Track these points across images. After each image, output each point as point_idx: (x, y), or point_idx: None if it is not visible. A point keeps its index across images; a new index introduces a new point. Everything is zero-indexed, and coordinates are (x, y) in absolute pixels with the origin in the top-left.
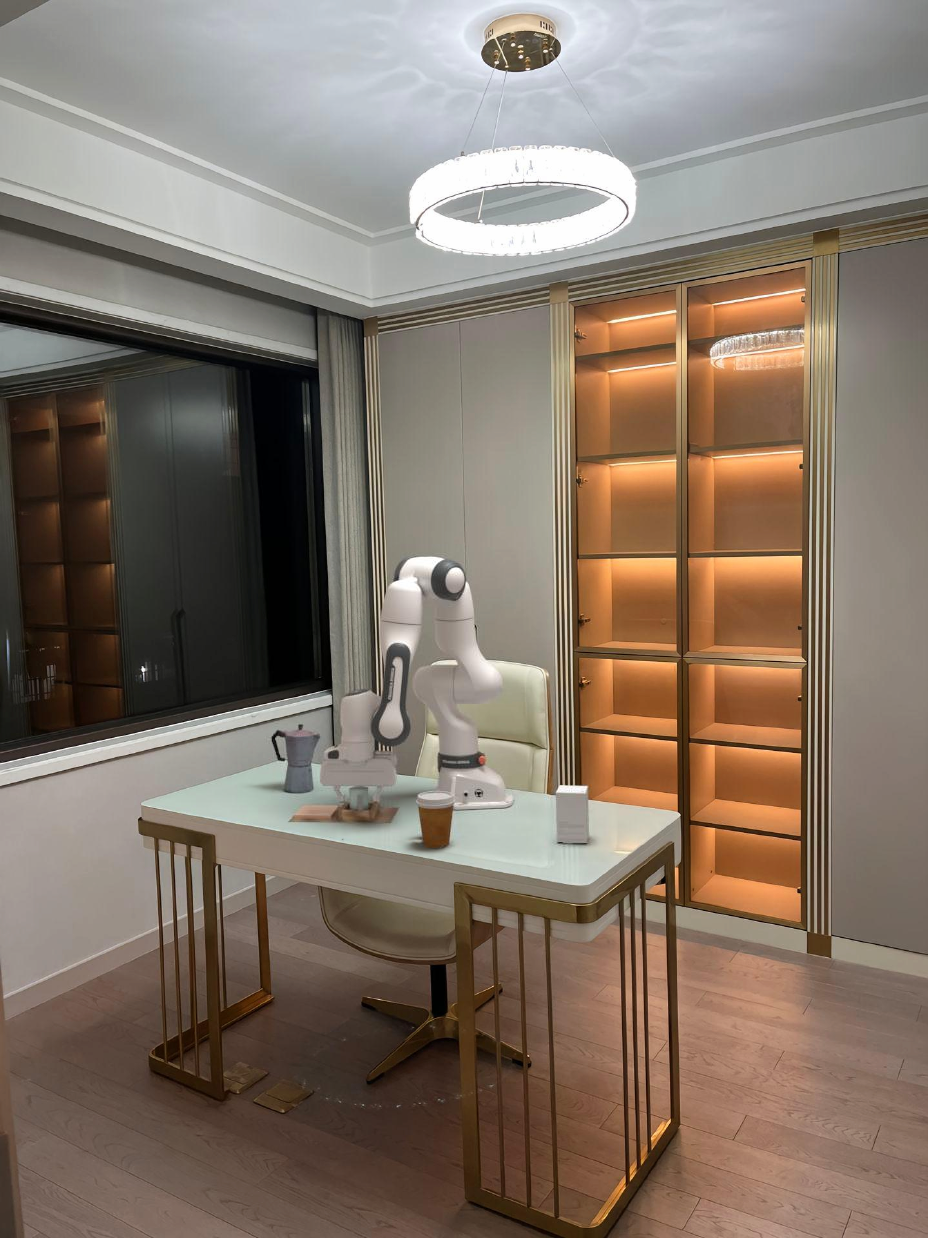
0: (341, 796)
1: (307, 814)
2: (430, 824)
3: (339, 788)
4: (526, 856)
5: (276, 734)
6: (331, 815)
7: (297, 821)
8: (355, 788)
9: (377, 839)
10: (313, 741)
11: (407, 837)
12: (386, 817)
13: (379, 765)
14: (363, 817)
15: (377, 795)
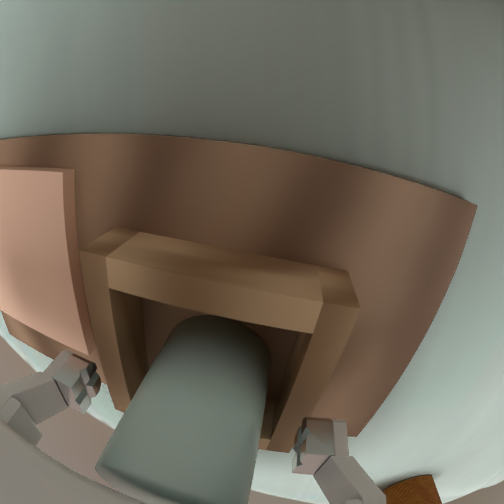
0: (73, 408)
1: (16, 312)
2: None
3: (32, 426)
4: (479, 481)
5: None
6: (88, 343)
7: (24, 341)
8: (141, 493)
9: (292, 479)
10: None
11: (370, 473)
12: (359, 390)
13: None
14: None
15: (322, 482)
